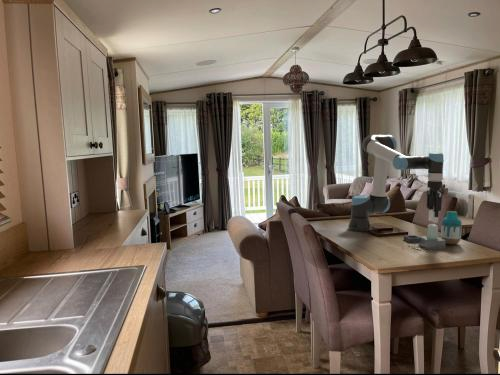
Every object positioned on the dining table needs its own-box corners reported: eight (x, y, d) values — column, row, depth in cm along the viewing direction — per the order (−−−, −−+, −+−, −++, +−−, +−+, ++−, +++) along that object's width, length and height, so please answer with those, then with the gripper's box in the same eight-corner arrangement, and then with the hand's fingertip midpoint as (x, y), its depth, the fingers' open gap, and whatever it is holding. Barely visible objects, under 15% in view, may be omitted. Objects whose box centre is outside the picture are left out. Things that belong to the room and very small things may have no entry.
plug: (426, 246, 224) (427, 224, 222) (433, 245, 224) (434, 224, 223) (430, 247, 220) (431, 225, 218) (437, 247, 220) (438, 225, 219)
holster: (403, 239, 239) (403, 235, 239) (415, 239, 240) (415, 235, 239) (408, 242, 232) (409, 238, 232) (421, 242, 232) (421, 238, 232)
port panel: (419, 244, 227) (419, 235, 226) (436, 244, 227) (436, 235, 226) (427, 249, 217) (427, 239, 216) (445, 249, 217) (445, 239, 216)
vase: (449, 247, 221) (451, 213, 219) (436, 242, 232) (437, 210, 229) (465, 245, 224) (466, 212, 222) (451, 241, 234) (452, 209, 232)
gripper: (421, 179, 226) (419, 218, 229) (436, 182, 209) (434, 225, 212) (433, 179, 226) (432, 218, 229) (449, 182, 209) (447, 224, 212)
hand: (433, 221), depth 220 cm, fingers open, 4 cm apart
